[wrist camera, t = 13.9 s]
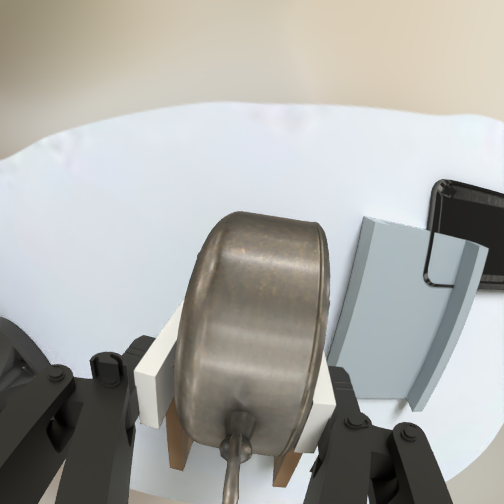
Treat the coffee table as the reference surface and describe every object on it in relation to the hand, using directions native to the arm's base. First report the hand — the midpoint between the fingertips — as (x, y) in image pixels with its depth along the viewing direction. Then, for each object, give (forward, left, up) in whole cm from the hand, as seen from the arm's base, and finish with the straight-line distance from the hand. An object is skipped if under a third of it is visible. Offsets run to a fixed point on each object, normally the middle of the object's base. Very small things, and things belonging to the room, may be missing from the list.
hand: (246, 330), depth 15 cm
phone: (+19, +7, -7) cm, 21 cm away
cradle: (+11, -1, -6) cm, 13 cm away
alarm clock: (0, +1, -5) cm, 5 cm away
